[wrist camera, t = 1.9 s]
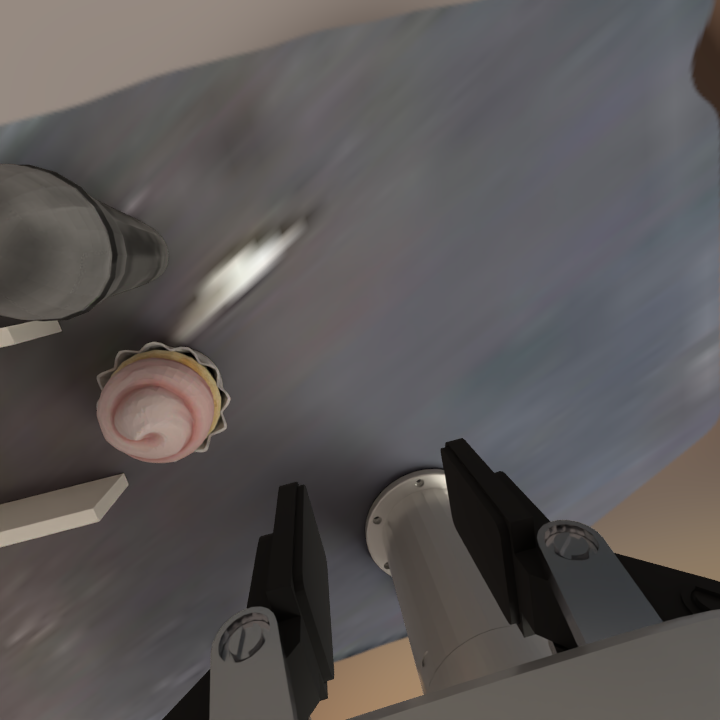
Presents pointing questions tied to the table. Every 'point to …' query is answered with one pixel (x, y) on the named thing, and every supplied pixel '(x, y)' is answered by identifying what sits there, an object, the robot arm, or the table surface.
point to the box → (60, 505)
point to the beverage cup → (67, 247)
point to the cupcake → (161, 403)
